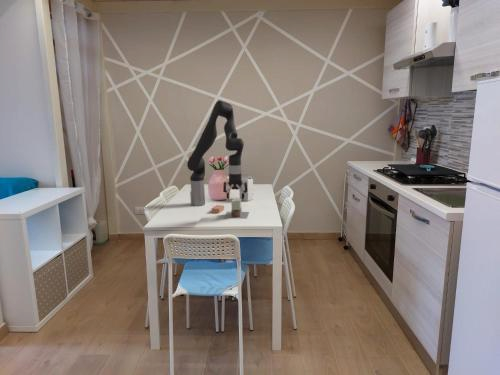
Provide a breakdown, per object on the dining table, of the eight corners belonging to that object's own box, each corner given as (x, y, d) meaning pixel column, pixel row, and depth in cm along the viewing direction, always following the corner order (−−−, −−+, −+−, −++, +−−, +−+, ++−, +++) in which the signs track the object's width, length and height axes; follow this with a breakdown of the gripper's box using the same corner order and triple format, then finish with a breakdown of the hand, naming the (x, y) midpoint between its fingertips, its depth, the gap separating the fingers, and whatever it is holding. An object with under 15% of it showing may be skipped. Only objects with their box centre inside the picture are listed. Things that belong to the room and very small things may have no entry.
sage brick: (231, 209, 215) (231, 202, 214) (233, 206, 223) (232, 198, 222) (240, 209, 215) (239, 202, 214) (241, 206, 223) (241, 198, 222)
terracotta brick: (211, 215, 226) (211, 208, 225) (216, 211, 234) (216, 205, 233) (219, 215, 225) (219, 208, 224) (224, 212, 232) (223, 205, 231)
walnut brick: (231, 216, 216) (231, 209, 215) (233, 213, 224) (233, 206, 223) (239, 216, 216) (239, 209, 215) (241, 213, 223) (241, 206, 222)
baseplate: (223, 220, 214) (223, 218, 214) (227, 214, 228) (227, 211, 227) (246, 221, 213) (246, 218, 212) (249, 214, 226) (249, 211, 226)
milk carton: (248, 201, 258) (247, 175, 254) (239, 200, 262) (238, 174, 258) (253, 199, 264) (252, 173, 260) (245, 198, 268) (244, 172, 264)
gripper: (222, 173, 211) (222, 200, 215) (246, 173, 210) (246, 200, 213) (224, 171, 218) (224, 197, 222) (247, 171, 217) (248, 197, 220)
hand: (235, 199), depth 218 cm, fingers open, 8 cm apart
